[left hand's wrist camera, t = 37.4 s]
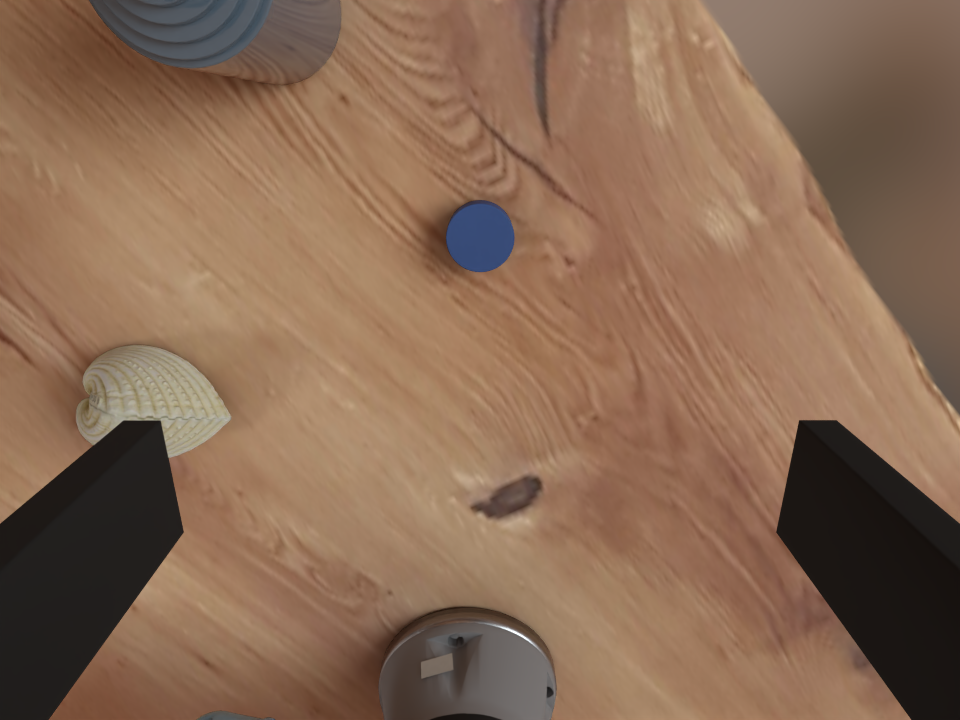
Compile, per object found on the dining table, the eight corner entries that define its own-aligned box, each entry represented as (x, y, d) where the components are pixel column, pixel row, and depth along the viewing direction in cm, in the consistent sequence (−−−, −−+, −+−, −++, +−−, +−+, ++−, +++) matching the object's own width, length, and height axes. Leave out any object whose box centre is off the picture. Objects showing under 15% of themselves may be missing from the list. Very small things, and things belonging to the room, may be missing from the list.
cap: (498, 189, 40) (499, 192, 38) (522, 251, 42) (524, 257, 40) (437, 215, 41) (435, 219, 39) (462, 275, 42) (461, 282, 40)
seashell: (62, 327, 41) (137, 350, 37) (174, 347, 48) (246, 367, 45) (30, 448, 41) (103, 483, 37) (148, 448, 48) (218, 478, 45)
